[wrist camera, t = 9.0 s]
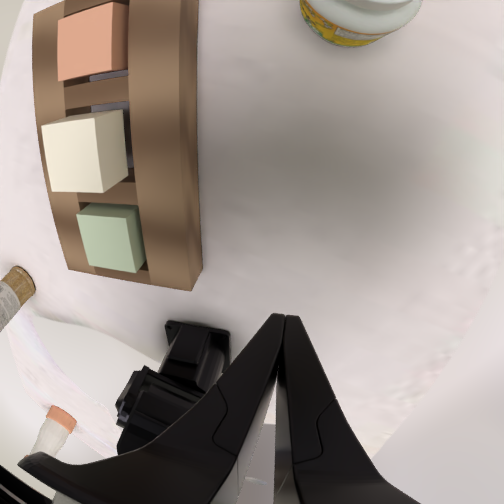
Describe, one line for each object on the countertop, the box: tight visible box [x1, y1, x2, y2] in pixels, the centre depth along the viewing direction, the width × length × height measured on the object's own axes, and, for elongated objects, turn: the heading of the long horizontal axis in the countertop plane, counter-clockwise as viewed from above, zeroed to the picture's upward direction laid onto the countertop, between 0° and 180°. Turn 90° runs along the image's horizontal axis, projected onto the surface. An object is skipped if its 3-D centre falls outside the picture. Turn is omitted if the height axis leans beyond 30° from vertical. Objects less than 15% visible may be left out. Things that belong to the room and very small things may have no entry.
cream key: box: [41, 109, 128, 193], centre depth 17 cm, size 4×4×3 cm
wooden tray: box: [32, 0, 203, 291], centre depth 19 cm, size 22×12×3 cm, turn 178°
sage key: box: [76, 202, 147, 273], centre depth 22 cm, size 4×4×3 cm
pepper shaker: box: [24, 406, 76, 458], centre depth 49 cm, size 7×7×19 cm
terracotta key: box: [57, 2, 129, 81], centre depth 14 cm, size 4×4×3 cm
